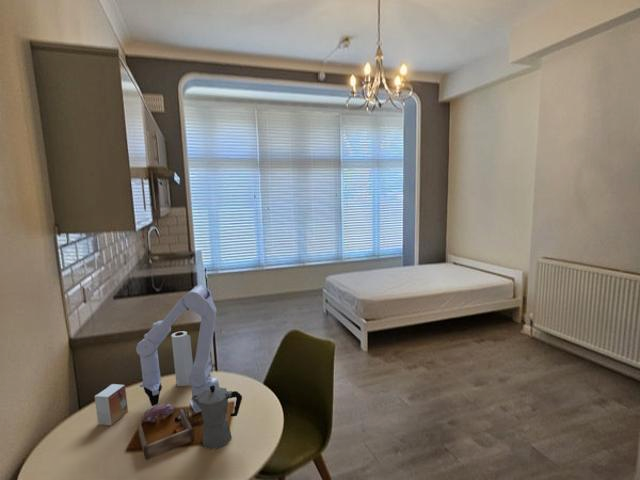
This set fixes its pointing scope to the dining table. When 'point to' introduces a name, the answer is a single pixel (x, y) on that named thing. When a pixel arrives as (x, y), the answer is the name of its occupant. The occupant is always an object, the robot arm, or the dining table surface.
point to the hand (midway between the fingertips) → (154, 404)
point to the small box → (111, 404)
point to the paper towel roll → (182, 357)
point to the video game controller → (158, 412)
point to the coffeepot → (216, 415)
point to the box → (167, 439)
